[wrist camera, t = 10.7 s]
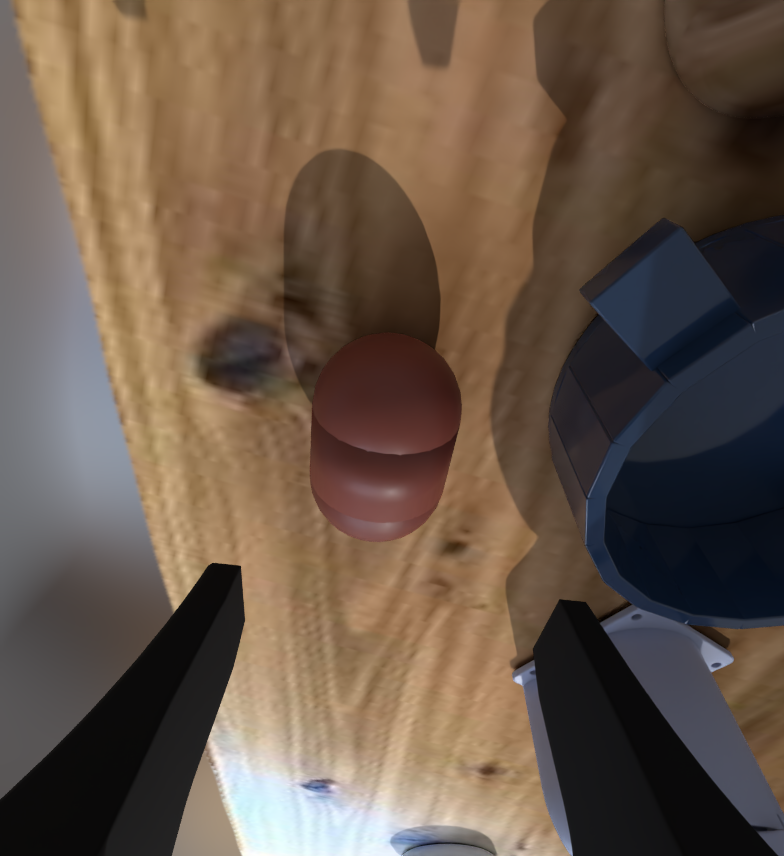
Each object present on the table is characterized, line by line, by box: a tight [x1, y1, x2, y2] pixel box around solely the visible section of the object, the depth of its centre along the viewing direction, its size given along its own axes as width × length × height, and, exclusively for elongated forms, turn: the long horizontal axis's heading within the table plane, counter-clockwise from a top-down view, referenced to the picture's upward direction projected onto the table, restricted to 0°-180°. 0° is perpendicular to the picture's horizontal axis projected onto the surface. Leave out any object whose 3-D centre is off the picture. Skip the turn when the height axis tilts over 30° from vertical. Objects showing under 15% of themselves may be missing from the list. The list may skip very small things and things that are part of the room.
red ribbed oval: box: [310, 333, 462, 542], centre depth 17 cm, size 8×5×5 cm, turn 173°
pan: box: [548, 215, 784, 629], centre depth 16 cm, size 13×19×5 cm
